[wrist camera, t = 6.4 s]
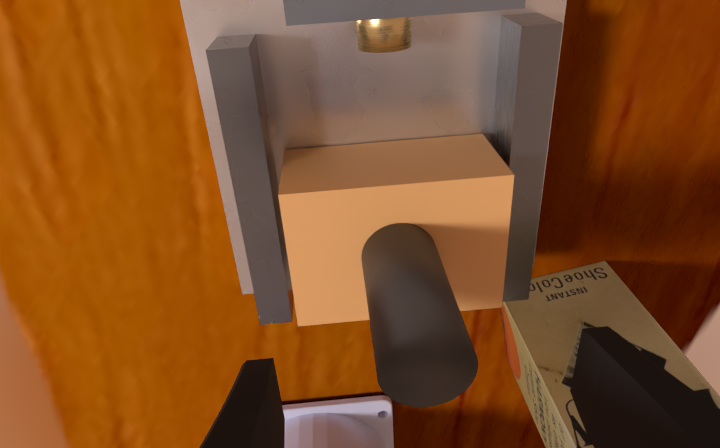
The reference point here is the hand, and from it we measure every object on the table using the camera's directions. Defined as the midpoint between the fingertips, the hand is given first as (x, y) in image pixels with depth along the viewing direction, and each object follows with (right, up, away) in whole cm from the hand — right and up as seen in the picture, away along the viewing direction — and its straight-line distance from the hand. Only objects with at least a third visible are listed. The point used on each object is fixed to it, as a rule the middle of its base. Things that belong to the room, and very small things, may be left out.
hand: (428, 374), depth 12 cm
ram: (-1, +4, +7) cm, 9 cm away
